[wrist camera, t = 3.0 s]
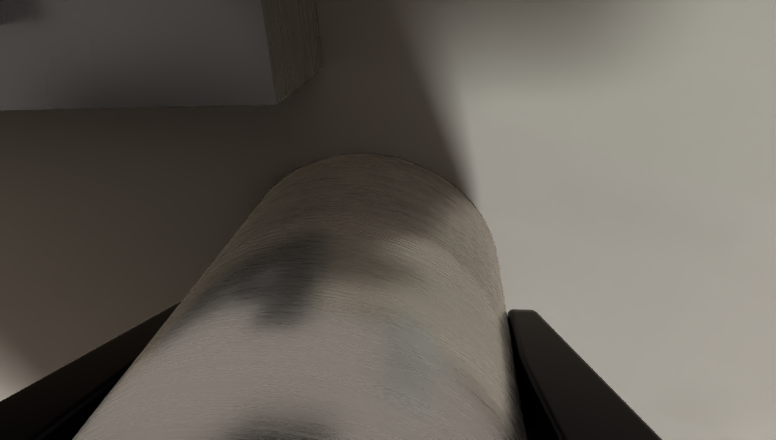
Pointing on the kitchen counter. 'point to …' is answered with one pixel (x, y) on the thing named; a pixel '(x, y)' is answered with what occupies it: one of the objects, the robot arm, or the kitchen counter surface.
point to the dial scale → (154, 52)
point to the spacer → (334, 322)
